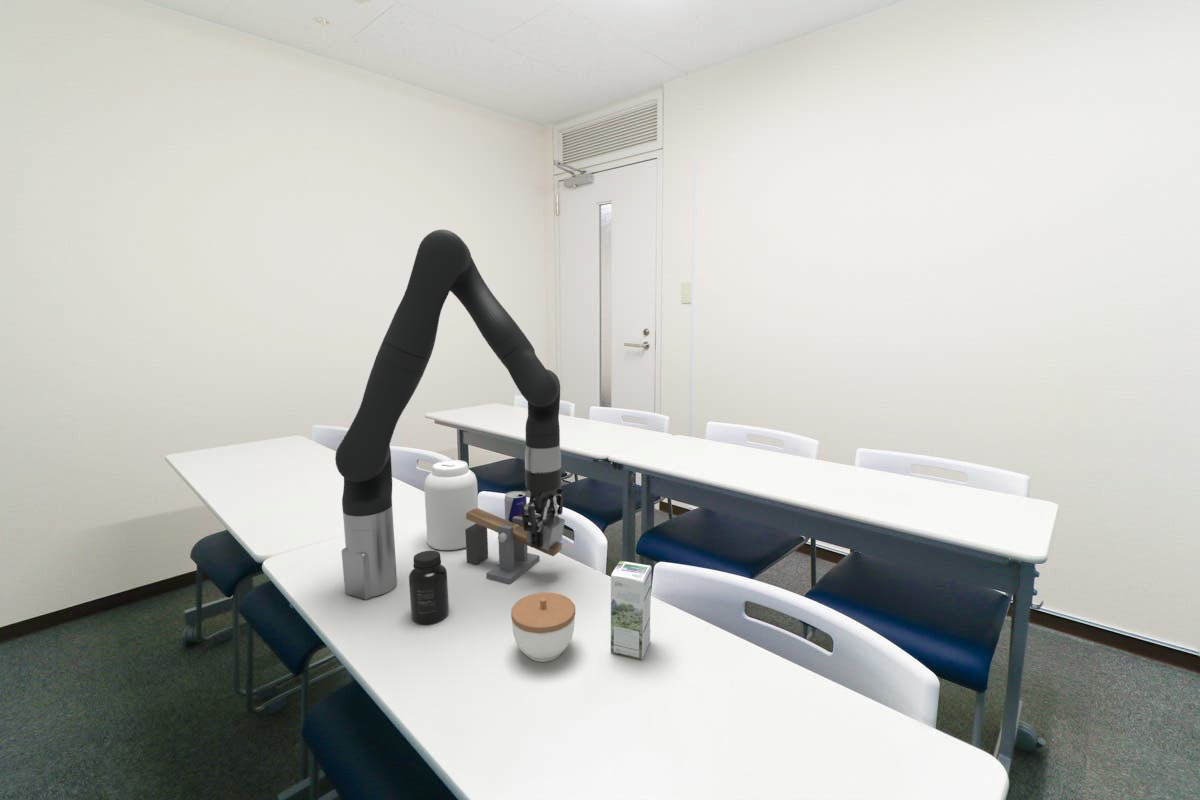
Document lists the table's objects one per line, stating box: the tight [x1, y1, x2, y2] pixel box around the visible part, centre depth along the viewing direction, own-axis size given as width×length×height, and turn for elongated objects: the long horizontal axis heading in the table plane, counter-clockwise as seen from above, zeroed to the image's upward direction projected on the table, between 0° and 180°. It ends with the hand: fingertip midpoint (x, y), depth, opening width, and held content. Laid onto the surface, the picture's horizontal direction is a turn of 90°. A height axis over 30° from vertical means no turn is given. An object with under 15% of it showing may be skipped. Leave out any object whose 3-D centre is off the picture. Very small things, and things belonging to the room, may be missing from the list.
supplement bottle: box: [408, 549, 450, 625], centre depth 101 cm, size 7×7×12 cm
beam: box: [466, 507, 563, 557], centre depth 119 cm, size 4×23×2 cm, turn 65°
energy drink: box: [504, 490, 528, 523], centre depth 134 cm, size 5×5×12 cm
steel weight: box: [526, 513, 566, 551], centre depth 115 cm, size 6×6×5 cm
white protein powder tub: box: [423, 459, 479, 551], centre depth 133 cm, size 12×12×20 cm
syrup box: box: [610, 560, 652, 660], centre depth 91 cm, size 6×6×14 cm
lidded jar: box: [510, 592, 576, 663], centre depth 91 cm, size 11×11×9 cm
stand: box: [465, 516, 541, 585], centre depth 121 cm, size 12×14×11 cm
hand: (544, 541), depth 115 cm, fingers closed on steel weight, 5 cm apart
